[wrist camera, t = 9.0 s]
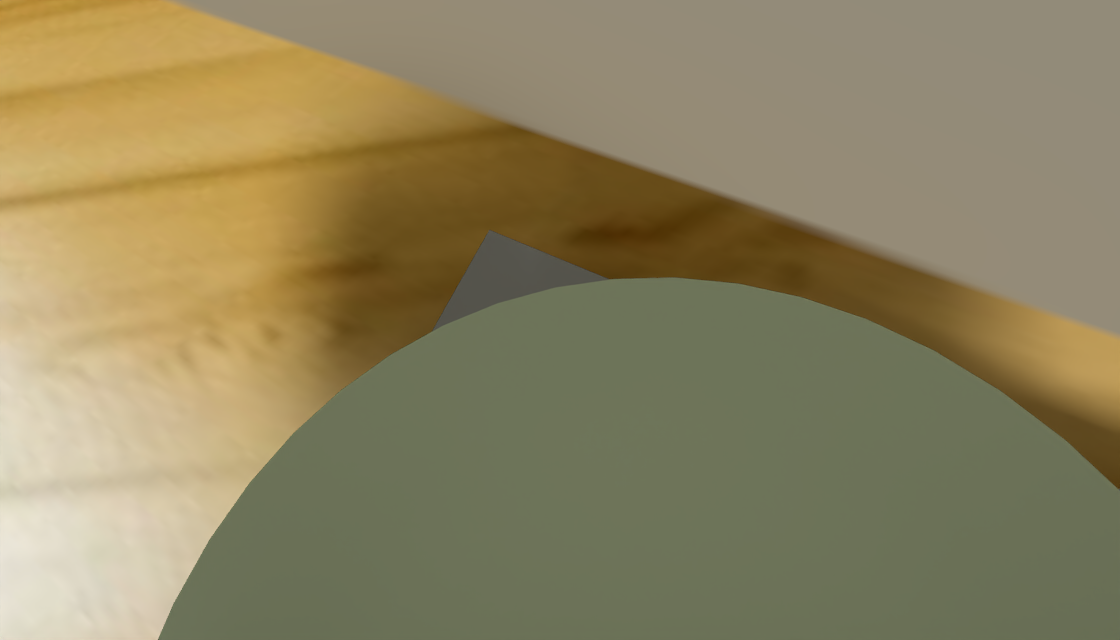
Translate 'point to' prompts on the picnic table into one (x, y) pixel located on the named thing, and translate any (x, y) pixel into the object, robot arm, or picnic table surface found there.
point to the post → (664, 488)
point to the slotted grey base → (509, 276)
